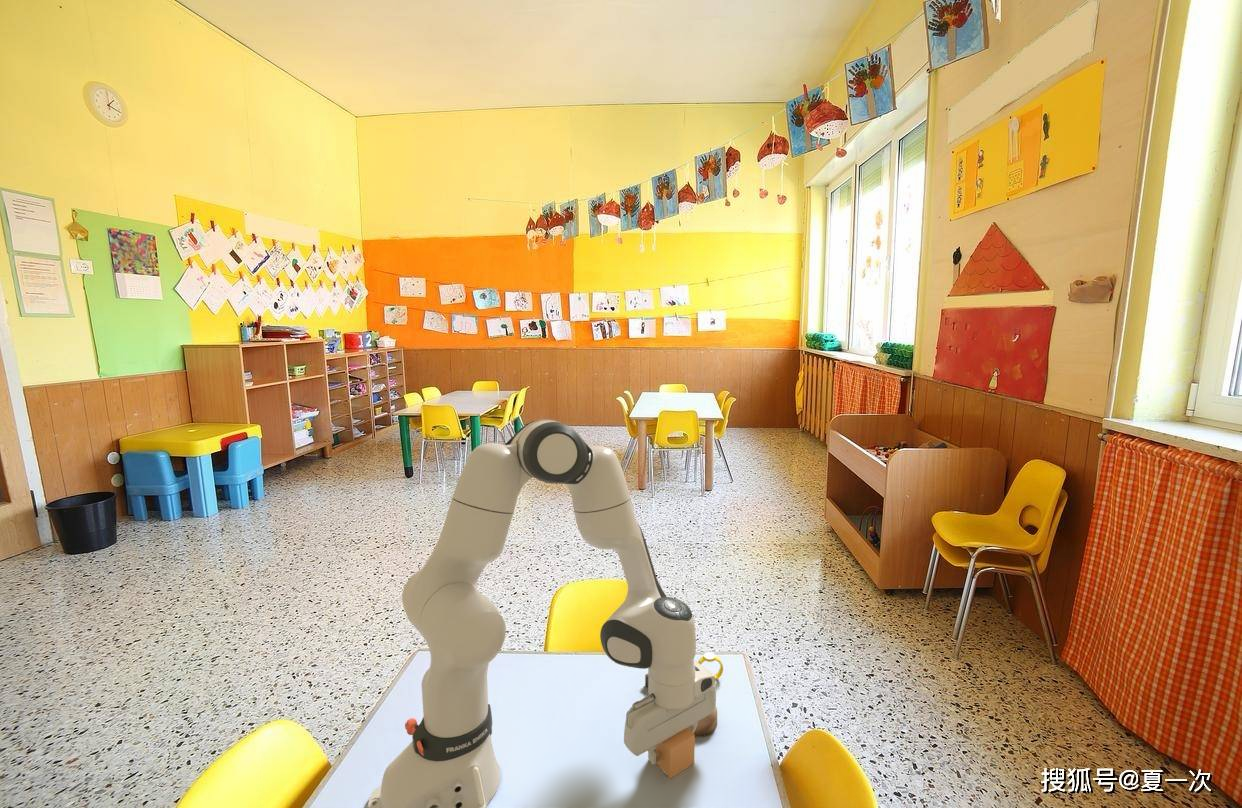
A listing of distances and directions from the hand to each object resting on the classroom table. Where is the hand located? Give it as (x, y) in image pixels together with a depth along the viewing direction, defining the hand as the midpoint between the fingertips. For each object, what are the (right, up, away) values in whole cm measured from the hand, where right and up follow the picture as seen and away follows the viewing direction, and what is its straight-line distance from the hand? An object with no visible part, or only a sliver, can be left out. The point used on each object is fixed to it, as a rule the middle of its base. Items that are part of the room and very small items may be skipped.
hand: (671, 750), depth 100 cm
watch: (+11, +1, +24) cm, 27 cm away
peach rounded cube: (0, -2, 0) cm, 2 cm away
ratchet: (+3, 0, +15) cm, 15 cm away
